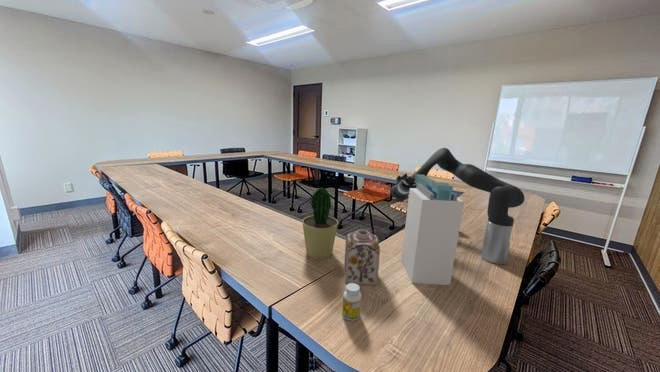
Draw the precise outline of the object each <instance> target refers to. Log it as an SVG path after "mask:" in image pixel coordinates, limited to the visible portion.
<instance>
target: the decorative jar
mask: <svg viewBox="0 0 660 372" xmlns="http://www.w3.org/2000/svg"><path fill="white" fill-rule="evenodd" d="M380 248H381V247H380V243H379V238H378V236H377V235H376V234H373V233H371V232H370V231H368V230H366V229H358V230H356V231H353V232H349V233H347V234H346V237H345V250H344V283H345V284H346V285H347V284H349V283H355V284H357V285H365V284H367V285H370V286H377V285H378V279H379V269H380V255H381V253H380V252H381V251H380V250H381V249H380Z"/></svg>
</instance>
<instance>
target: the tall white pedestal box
mask: <svg viewBox="0 0 660 372" xmlns="http://www.w3.org/2000/svg"><path fill="white" fill-rule="evenodd" d="M407 202H408V203H407V208H406V209H407V210H406V218H405V227H404V236H403V241H402V242H403V243H402V252H401V253H402V254H401V259H400V260H401V261H400V262H401V264H402V266H403V267H404V270H405V272H406V275H407V276H408V278H409V280H410V283H411V284H424V285H438V286H440V285H442V286H451V283H452V282H451V281H452V276H453V275H452V274H453V269H454V264H455V258H456V252H457V246H458V240H459V235H460V229H461V228H460V227H461V222H462V217H463V210H464V205H465V201H464V200H463V199H461V198H460V197H459V196H458V195H457V194H456V193H455V192H453V191H452V196H451V201H443V200H435V199H434V194H433V193H432V192H431V191H429V190H428V189H427V188H425V187H424V186H422V185H421V184H417V186H416V188H410V191H409V195H408V201H407Z"/></svg>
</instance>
